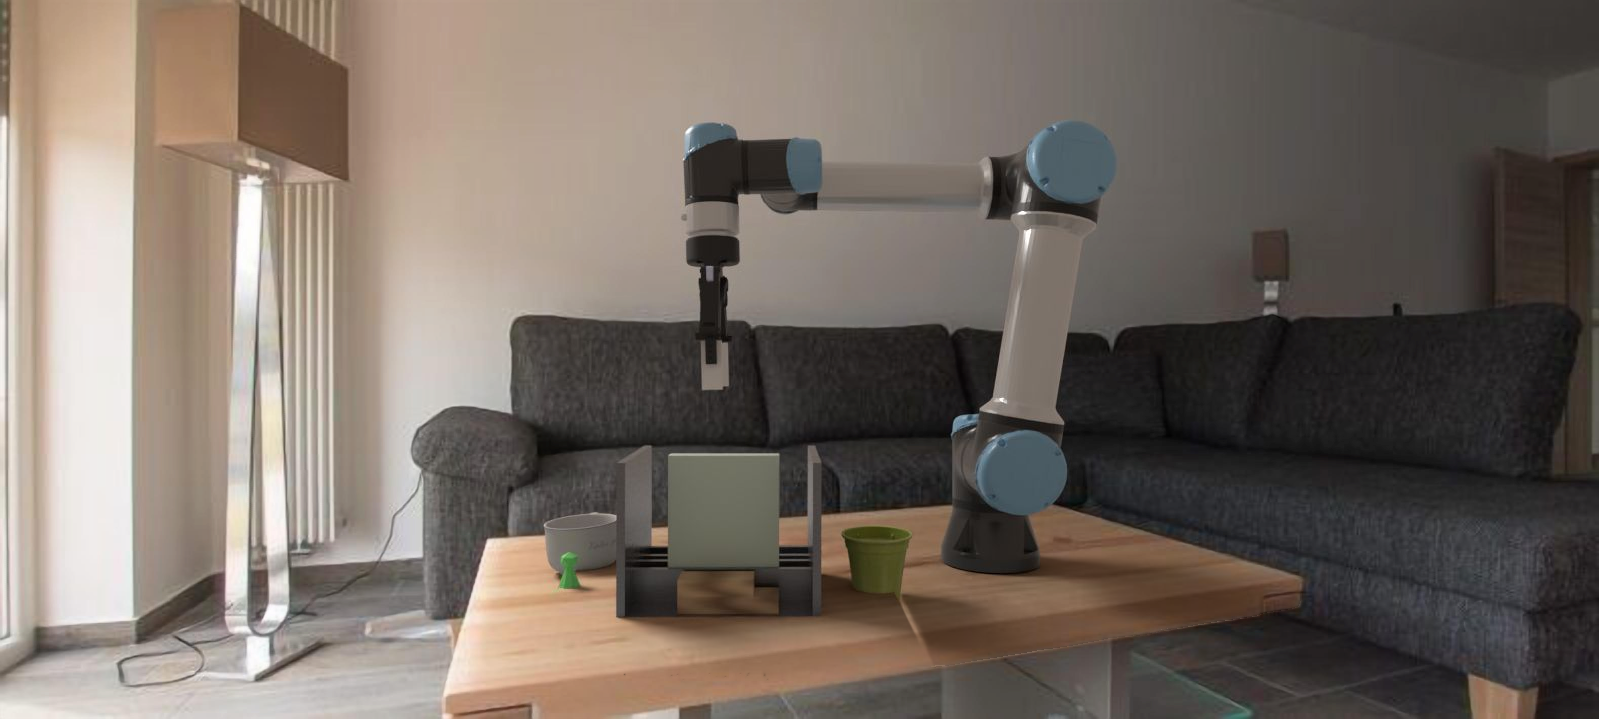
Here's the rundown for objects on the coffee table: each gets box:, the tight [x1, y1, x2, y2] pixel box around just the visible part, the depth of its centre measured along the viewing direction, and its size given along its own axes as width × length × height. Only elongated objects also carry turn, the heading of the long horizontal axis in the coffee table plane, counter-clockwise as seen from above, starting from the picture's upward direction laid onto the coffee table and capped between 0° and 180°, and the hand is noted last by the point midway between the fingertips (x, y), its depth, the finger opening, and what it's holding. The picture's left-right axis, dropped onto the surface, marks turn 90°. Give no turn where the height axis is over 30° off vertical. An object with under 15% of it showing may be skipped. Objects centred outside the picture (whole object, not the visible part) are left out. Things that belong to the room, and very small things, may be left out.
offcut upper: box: [677, 571, 755, 597], centre depth 99 cm, size 9×4×2 cm, turn 91°
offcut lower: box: [677, 587, 779, 614], centre depth 99 cm, size 12×4×2 cm, turn 91°
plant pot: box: [840, 525, 913, 600], centre depth 108 cm, size 9×9×9 cm
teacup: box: [543, 511, 616, 576], centre depth 123 cm, size 14×11×8 cm
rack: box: [615, 445, 823, 618], centre depth 105 cm, size 24×20×20 cm
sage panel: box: [667, 452, 780, 567], centre depth 104 cm, size 14×2×18 cm, turn 91°
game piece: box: [552, 552, 581, 595], centre depth 109 cm, size 4×4×6 cm
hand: (716, 388), depth 115 cm, fingers open, 13 cm apart
